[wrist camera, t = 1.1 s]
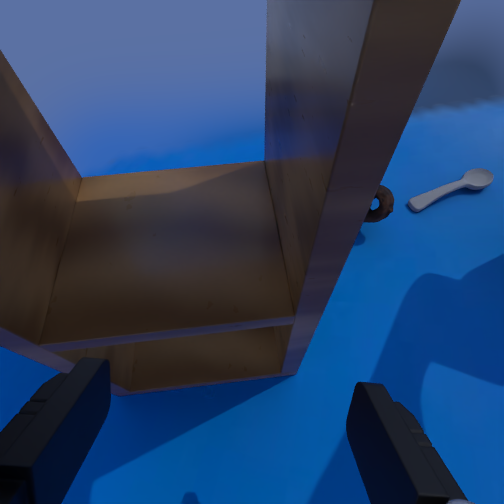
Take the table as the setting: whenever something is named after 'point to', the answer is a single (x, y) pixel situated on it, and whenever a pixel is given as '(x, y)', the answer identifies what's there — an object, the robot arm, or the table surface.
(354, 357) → the table surface
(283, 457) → the table surface
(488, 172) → the spoon
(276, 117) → the book stand
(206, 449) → the table surface
